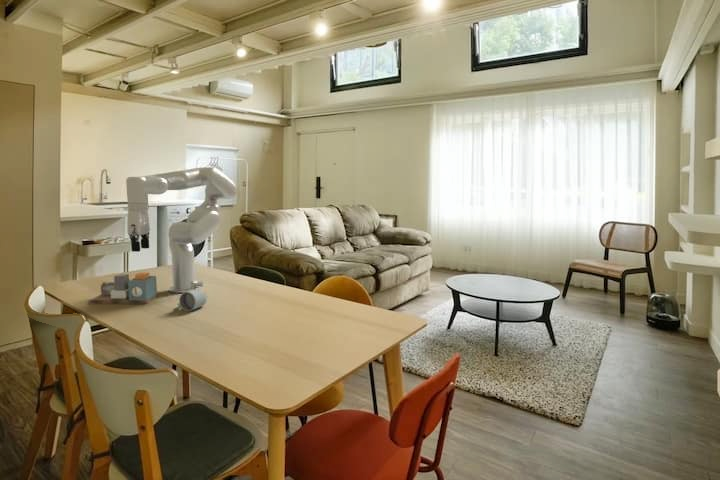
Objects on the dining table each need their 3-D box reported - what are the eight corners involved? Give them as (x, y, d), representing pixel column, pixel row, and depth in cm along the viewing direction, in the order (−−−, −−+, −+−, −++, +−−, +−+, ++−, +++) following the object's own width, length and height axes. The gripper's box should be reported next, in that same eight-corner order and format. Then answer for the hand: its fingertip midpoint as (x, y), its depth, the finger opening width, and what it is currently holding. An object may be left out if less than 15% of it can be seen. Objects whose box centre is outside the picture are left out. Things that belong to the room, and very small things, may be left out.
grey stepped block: (134, 294, 183) (132, 273, 181) (125, 298, 176) (124, 277, 174) (119, 294, 182) (118, 273, 181) (111, 298, 175) (109, 277, 174)
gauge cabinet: (157, 293, 185) (156, 275, 183) (145, 300, 174) (144, 281, 173) (140, 293, 184) (139, 275, 183) (128, 300, 174) (127, 281, 173)
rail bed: (157, 297, 185) (156, 282, 184) (146, 303, 175) (145, 287, 174) (102, 297, 184) (101, 281, 183) (89, 303, 174) (88, 287, 173)
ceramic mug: (208, 306, 172) (207, 287, 171) (195, 312, 165) (194, 292, 164) (186, 304, 175) (185, 286, 174) (172, 310, 168) (171, 290, 167)
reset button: (149, 279, 181) (149, 272, 180) (145, 281, 177) (144, 274, 176) (139, 279, 180) (139, 272, 180) (135, 281, 176) (135, 274, 176)
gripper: (138, 205, 183) (141, 246, 185) (117, 208, 166) (120, 253, 168) (156, 206, 183) (158, 246, 186) (137, 208, 166) (140, 253, 168)
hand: (140, 249), depth 177 cm, fingers open, 7 cm apart
